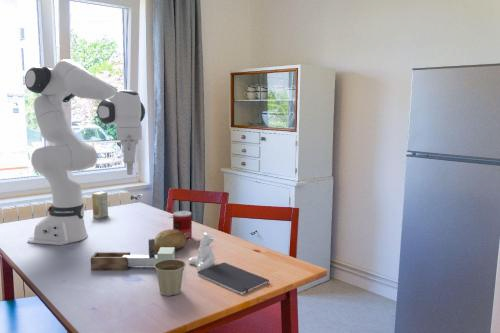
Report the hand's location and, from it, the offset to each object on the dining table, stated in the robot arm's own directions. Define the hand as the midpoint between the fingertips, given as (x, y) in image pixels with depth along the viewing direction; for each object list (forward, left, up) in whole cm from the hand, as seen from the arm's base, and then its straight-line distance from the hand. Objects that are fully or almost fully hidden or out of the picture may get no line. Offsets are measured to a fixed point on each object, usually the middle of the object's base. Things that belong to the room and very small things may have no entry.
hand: (130, 172), depth 157 cm
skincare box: (-27, +51, -31) cm, 66 cm away
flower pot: (+19, -33, -31) cm, 49 cm away
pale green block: (+14, -14, -31) cm, 37 cm away
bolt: (+8, -14, -30) cm, 34 cm away
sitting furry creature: (+28, -12, -31) cm, 44 cm away
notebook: (+38, -24, -32) cm, 55 cm away
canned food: (+17, +18, -31) cm, 40 cm away
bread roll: (+14, +4, -31) cm, 35 cm away
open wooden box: (-4, -14, -31) cm, 34 cm away
